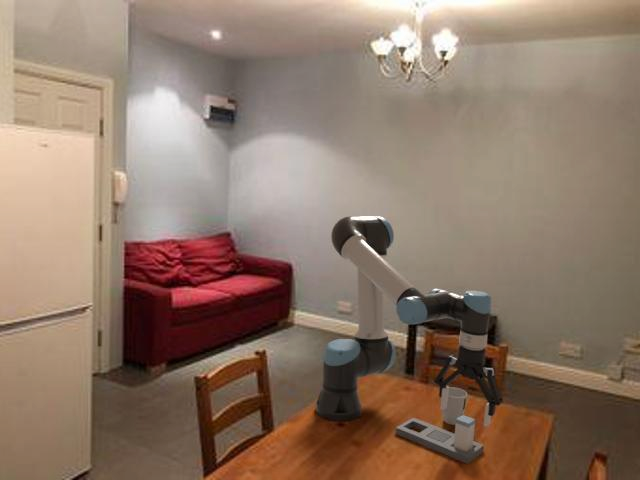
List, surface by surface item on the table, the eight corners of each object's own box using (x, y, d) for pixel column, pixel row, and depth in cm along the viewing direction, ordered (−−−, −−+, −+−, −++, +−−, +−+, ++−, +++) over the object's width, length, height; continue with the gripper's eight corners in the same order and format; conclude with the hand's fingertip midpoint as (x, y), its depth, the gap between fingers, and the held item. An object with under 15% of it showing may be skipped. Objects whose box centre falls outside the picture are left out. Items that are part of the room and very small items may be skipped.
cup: (465, 428, 175) (468, 398, 173) (439, 425, 176) (441, 395, 175) (464, 417, 182) (466, 388, 181) (439, 414, 184) (441, 385, 183)
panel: (395, 433, 169) (396, 427, 169) (412, 423, 176) (413, 417, 176) (467, 464, 153) (468, 457, 153) (483, 451, 161) (483, 445, 160)
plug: (453, 452, 159) (456, 419, 158) (459, 447, 162) (462, 414, 161) (465, 457, 157) (468, 423, 155) (472, 452, 160) (475, 419, 158)
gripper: (427, 337, 161) (420, 405, 164) (509, 361, 145) (500, 437, 148) (439, 332, 166) (433, 398, 169) (520, 355, 150) (511, 428, 153)
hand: (464, 416), depth 159 cm, fingers open, 13 cm apart
